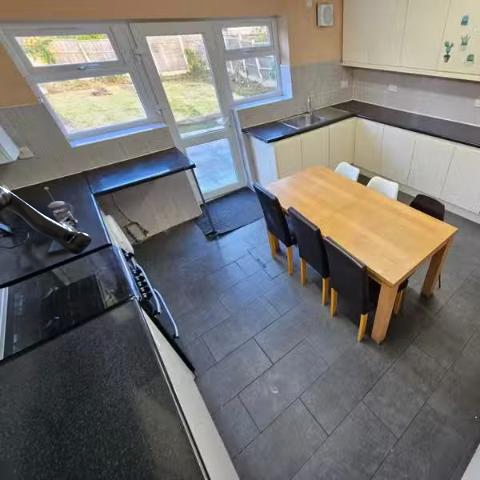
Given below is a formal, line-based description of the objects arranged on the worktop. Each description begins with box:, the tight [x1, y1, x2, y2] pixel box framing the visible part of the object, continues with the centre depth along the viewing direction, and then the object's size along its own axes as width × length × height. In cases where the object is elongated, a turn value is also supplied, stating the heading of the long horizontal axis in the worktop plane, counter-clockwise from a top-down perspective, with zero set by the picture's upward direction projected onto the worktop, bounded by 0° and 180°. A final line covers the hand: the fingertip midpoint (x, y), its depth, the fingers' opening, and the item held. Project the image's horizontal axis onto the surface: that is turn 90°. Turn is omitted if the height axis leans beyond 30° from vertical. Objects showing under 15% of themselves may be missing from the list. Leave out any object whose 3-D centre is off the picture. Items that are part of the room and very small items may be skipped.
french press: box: [43, 186, 79, 227], centre depth 168 cm, size 10×12×25 cm
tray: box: [46, 228, 86, 256], centre depth 158 cm, size 18×14×2 cm
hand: (52, 221), depth 142 cm, fingers open, 8 cm apart
